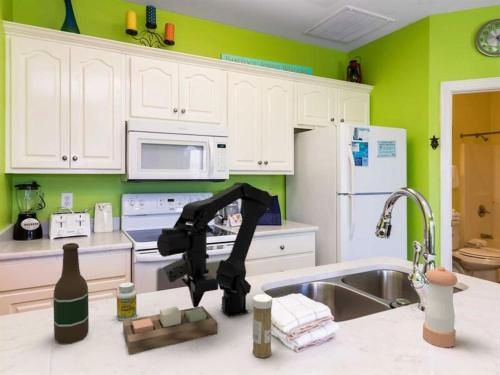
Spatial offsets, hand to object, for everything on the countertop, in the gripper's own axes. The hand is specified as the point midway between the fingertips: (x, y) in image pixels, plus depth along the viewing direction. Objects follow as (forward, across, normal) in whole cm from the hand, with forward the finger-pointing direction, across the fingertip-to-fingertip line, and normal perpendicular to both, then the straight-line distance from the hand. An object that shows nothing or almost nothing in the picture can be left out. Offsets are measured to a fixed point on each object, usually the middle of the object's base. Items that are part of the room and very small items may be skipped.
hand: (195, 306), depth 89 cm
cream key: (+3, 0, -7) cm, 7 cm away
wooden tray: (+6, 0, -7) cm, 9 cm away
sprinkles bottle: (+6, +19, +10) cm, 22 cm away
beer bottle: (+6, -9, -30) cm, 32 cm away
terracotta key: (+5, 0, -14) cm, 15 cm away
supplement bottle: (+6, -15, -16) cm, 23 cm away
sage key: (+5, 0, 0) cm, 5 cm away
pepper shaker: (+6, +34, +54) cm, 64 cm away
